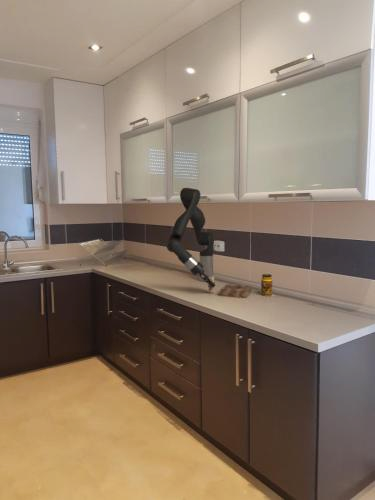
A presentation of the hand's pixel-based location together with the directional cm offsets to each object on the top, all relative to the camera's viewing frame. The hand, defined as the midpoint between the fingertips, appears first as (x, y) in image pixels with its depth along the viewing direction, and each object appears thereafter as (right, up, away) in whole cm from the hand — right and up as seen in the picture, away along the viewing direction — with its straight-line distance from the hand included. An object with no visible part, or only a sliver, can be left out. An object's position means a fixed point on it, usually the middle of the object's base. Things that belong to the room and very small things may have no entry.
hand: (214, 285), depth 228 cm
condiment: (+29, -5, -5) cm, 30 cm away
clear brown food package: (+13, -5, -3) cm, 14 cm away
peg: (-2, -5, +1) cm, 5 cm away
